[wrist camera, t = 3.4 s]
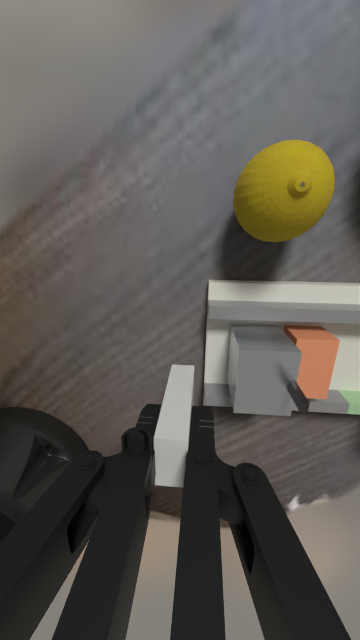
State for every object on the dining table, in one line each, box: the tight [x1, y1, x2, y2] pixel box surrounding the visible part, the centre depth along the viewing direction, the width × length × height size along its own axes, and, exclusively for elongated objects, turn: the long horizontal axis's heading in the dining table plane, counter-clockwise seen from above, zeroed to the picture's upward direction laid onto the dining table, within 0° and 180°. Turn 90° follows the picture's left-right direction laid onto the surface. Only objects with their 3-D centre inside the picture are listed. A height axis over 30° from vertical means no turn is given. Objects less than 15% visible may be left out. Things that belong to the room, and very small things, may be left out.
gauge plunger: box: [227, 325, 310, 416], centre depth 18 cm, size 4×5×7 cm
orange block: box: [284, 325, 340, 399], centre depth 21 cm, size 3×5×3 cm, turn 179°
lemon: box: [233, 140, 335, 242], centre depth 16 cm, size 6×6×8 cm
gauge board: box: [203, 280, 360, 415], centre depth 20 cm, size 18×12×7 cm, turn 89°
